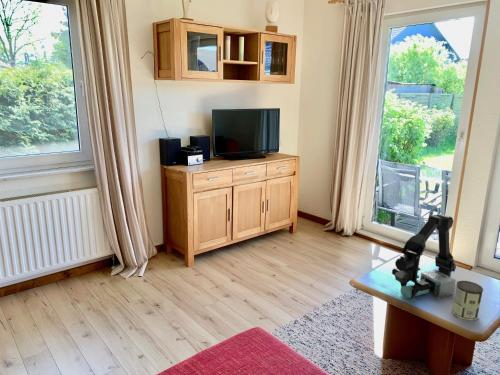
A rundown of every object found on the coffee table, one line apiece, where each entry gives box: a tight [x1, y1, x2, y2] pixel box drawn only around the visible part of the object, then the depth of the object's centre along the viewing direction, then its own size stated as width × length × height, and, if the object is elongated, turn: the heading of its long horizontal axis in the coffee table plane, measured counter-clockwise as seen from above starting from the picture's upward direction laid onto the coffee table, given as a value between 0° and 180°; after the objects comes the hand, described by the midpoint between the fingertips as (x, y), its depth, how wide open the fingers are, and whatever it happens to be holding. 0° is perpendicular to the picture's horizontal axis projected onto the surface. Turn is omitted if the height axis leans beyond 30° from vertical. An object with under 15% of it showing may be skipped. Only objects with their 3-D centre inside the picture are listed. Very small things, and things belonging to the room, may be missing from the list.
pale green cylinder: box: [400, 283, 429, 299], centre depth 180 cm, size 13×6×6 cm, turn 113°
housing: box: [419, 269, 457, 299], centre depth 186 cm, size 11×12×8 cm
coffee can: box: [451, 280, 484, 321], centre depth 165 cm, size 10×10×14 cm
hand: (407, 294), depth 179 cm, fingers closed on pale green cylinder, 6 cm apart
